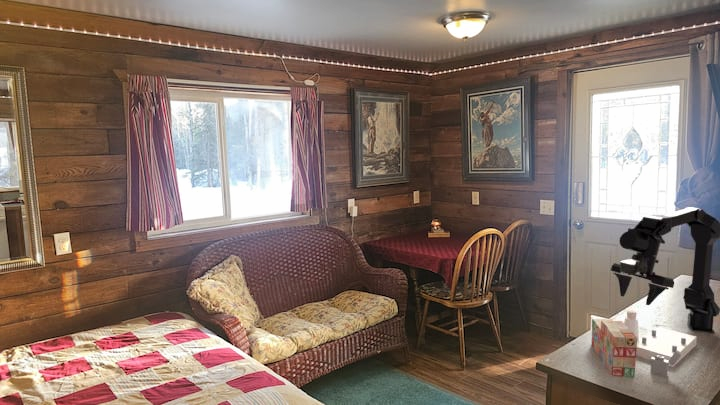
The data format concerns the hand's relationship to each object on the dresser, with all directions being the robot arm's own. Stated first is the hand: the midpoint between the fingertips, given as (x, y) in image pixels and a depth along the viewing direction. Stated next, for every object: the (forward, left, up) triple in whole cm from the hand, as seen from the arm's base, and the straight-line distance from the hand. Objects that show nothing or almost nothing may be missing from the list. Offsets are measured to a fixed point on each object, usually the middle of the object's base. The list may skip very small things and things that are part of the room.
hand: (634, 300), depth 156 cm
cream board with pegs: (-9, +1, -15) cm, 18 cm away
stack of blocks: (+8, +13, -16) cm, 22 cm away
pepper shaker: (0, -2, -15) cm, 16 cm away
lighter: (-5, +19, -15) cm, 25 cm away
